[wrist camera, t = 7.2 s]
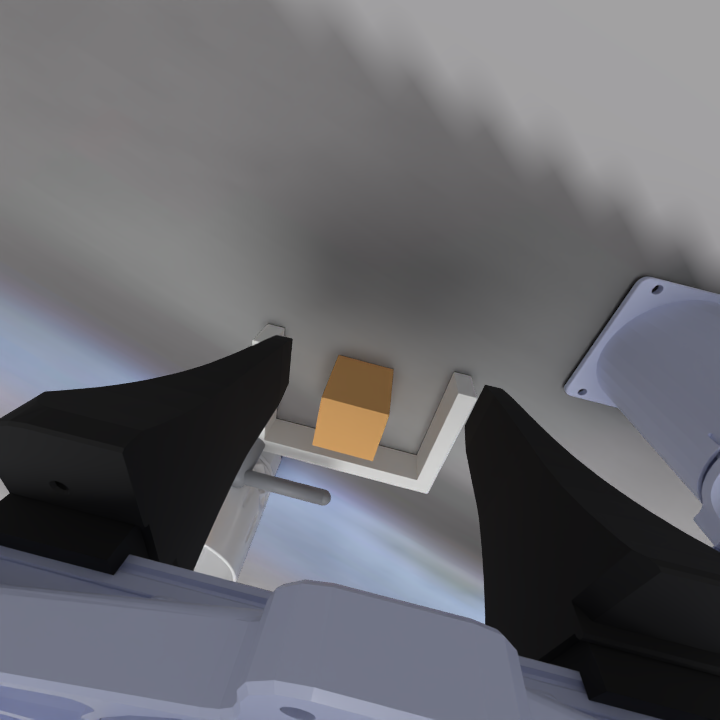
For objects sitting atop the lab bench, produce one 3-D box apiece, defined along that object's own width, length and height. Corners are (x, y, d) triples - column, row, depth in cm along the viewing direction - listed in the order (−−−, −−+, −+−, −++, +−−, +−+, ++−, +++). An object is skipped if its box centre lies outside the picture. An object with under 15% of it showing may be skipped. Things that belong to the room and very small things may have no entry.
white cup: (254, 489, 32) (196, 605, 23) (188, 441, 30) (97, 550, 21) (305, 457, 28) (260, 580, 20) (236, 400, 26) (150, 511, 18)
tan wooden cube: (393, 369, 23) (389, 415, 18) (379, 411, 25) (372, 461, 20) (338, 354, 23) (321, 397, 18) (329, 397, 25) (312, 445, 20)
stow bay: (470, 376, 22) (489, 438, 17) (425, 469, 27) (429, 538, 22) (266, 323, 22) (222, 369, 17) (260, 425, 27) (224, 484, 22)
